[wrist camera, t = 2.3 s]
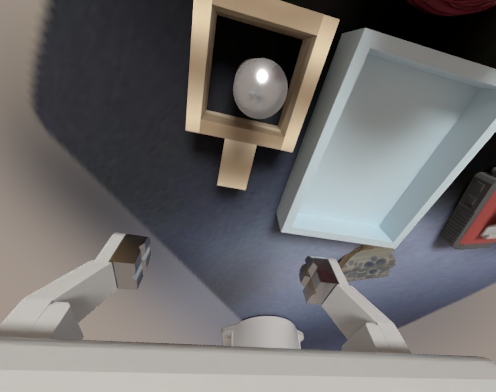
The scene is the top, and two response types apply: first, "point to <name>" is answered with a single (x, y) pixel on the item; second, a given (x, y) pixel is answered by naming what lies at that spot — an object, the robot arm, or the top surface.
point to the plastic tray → (385, 139)
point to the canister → (451, 6)
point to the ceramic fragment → (367, 263)
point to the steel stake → (259, 87)
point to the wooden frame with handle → (300, 90)
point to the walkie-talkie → (474, 215)
